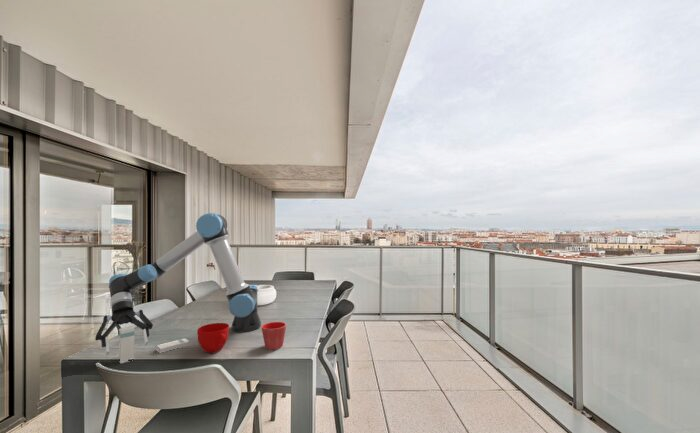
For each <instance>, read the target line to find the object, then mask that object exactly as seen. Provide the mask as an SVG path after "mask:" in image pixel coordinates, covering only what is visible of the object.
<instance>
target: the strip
mask: <svg viewBox="0 0 700 433" xmlns="http://www.w3.org/2000/svg"><path fill="white" fill-rule="evenodd" d="M186 346H187V347H190V341H189V340H188V339H187V338H181V339H176V340H173V341H169V342H165V343H161V344H157V345H155V350H156V349H157V350H158V352H159V353H160V352H163V351H168V350H172V349H175V350H178V349H177V348H179V349H183V348H186ZM182 347H183V348H182ZM172 351H173V350H172ZM158 352H157V353H158ZM168 352H169V351H168ZM159 353H158V354H159Z"/></svg>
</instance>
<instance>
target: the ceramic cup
mask: <svg viewBox="0 0 700 433" xmlns="http://www.w3.org/2000/svg"><path fill="white" fill-rule="evenodd" d="M229 331H230V325H229V324H228V323H225V322H216V323H210V324H204V325H201V326H200V327H198V328H197V331H196V335H197V341H198V344H199V346H200V348H201V349H202V350H203V351H204V352H205V353H206V352H208V353H207V354H213V353H212V352H214V353H218V352H221V351H222V348H223V347H224V346H225V345H226V344H227V341H228V338H229V333H230V332H229ZM217 351H218V352H217Z"/></svg>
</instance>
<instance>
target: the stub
mask: <svg viewBox="0 0 700 433" xmlns="http://www.w3.org/2000/svg"><path fill="white" fill-rule="evenodd" d="M118 329H119V330H118V336H119V337H118V360H119V359H120V361H119V363H120V364H125V363H129V361H128V359H131V358H134V359H135V334H136V331H135V327H134V326H133V325H131V326H126V327H121V328H118Z"/></svg>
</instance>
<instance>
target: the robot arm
mask: <svg viewBox="0 0 700 433" xmlns="http://www.w3.org/2000/svg"><path fill="white" fill-rule="evenodd" d="M195 227H196V228H195V229H196V231H195V232H193V233H192V234H190V236H188V237H187V238H185V239H184V240H183V241H182V242H179V244H177V245H175V247H173V248H172V249H170V250H169V251H168V252H166V253H165V254H163V255H162V256H161V257H159V258H158V259H157V260H155V261H154V262H153V263H151V264H146V265H145V264H144V265H142V266H141V267H138V269H135V270H134V271H132V272H130V273H128V274H125V273H118V274H114V275H113V276H111V277H110V278H109V282H108V289H109V295H110V305H111V315H110V316H107V315H103V318H102V324H101V325H100V327H99V329H98V330H97V332H96V335H95V338H94V339H95V341H100V342H101V347H102V348H105V356H108V355H109V353H110V345H109V335H110V334H111V333H112V332H113V330H114V329H115V328H116V327H117V326H118V325H119V326H120V325H124V324H129V323H130V324H132V325H134V326H136V327H138V329H139V328H140V330H142V337H143V342H144V346H148V343H149V340H148V338H149V336H150V330H151V329H153V327H154V324H153V322H152V321H151V320H150V319H149V318H148V317H147V316H146V315H145V314H144V312H143V311H144V310H142V309H139V310H138V311H135V310H134V304H133V298H132V292H131V291H133V290H135V289H137V288H139V287H140V286H144V285H145V284H147V283H150V282H152V281H154V280H158V279H160V278H161V277H162V276H164V274H166V272H168V271H169V270H171V269H172V268H174V267H175V266H176V265H177V264H179V263H180V262H182V261H183V260H185V259H186V258H187V257H188V256H189V255H191V254H193V252H195V251H197V250H198V249H199V248H200V247H202V246H203V245H207V246H209V247H210V250H211V252H212V255H213V257H214V260H215V263H216V265H217V267H218V270H219V272H220V274H221V278H222V280H223V282H224V285H225V287H226V289H227V290H226V293H225V296H226V299H227V301H228V309H229V313H230V314H232V316H233V320H232V323H231V330H232V331H233V332H236V333H245V332H252V331H255V330H258V329H260V328H262V323H261V322H262V321H261V319H260V318H261V317H260V315H259V312H258V291H259V290H258V285H257V284H248V283H246V282H245V280H244V278H243V275H242V273H241V271H240V268H239V266H238V263H237V260H236V258H235V255H234V252H233V250H232V248H231V245H230V242H229V240H228V238H229V236H230V234H229V232H228V229H227V228H228V222H227V219H226V218H225V217H224V216H223V215H220V214H216V213H215V212H214V213H213V212H208V213H204V214H202V215H201V216H200V217H199V218H198V219H197V221H196V225H195ZM137 317H139V319H138V318H137ZM110 321H112V324H111V325H110V326H109V327H108V328H107V329H106V326H107V323H109V322H110ZM105 329H106V330H105ZM104 330H105V332H104ZM103 332H104V333H103Z"/></svg>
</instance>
